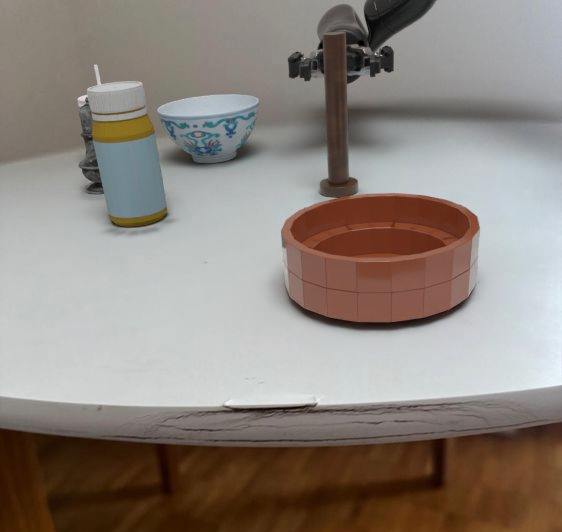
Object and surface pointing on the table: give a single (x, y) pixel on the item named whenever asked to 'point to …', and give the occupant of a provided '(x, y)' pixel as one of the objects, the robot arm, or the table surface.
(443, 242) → the bowl
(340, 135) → the stirring stick
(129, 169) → the bottle
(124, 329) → the table surface
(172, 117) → the chinaware
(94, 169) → the grey tall piece
